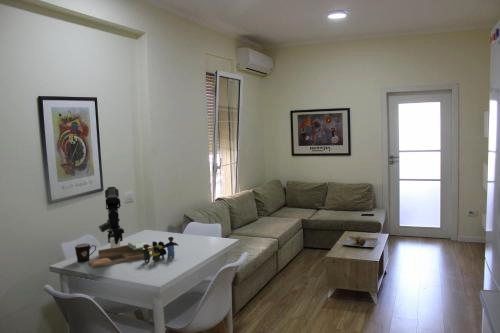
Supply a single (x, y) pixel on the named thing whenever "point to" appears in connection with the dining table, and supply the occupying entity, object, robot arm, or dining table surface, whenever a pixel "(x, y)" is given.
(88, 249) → the coffee mug
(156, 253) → the doll family
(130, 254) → the puzzle board
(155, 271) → the dining table surface
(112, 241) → the cream block
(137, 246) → the sage cover
